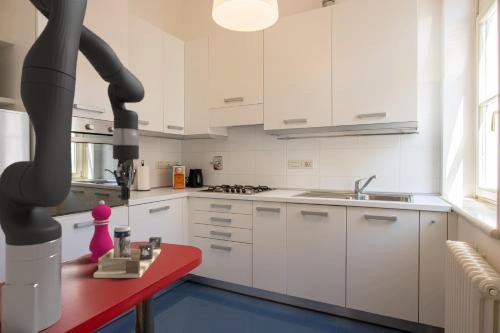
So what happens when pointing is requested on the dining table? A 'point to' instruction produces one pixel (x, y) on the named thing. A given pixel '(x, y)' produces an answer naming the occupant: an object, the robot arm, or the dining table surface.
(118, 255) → the beer can
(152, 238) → the silver and grey bar
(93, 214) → the pink pepper grinder
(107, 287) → the dining table surface
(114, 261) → the birch holder
